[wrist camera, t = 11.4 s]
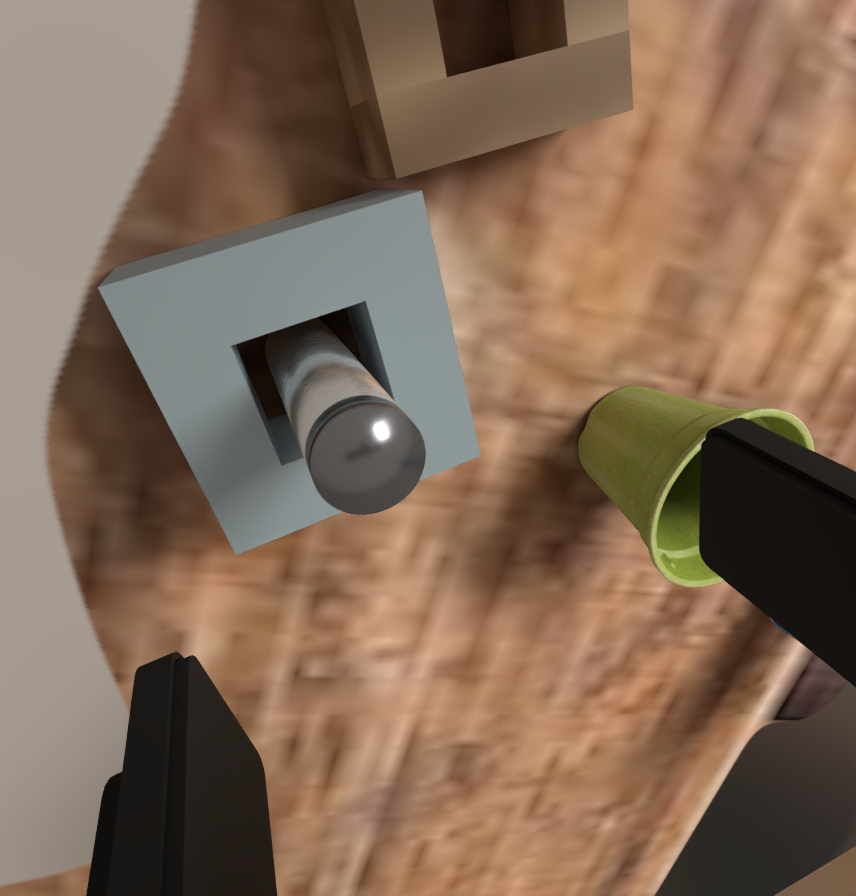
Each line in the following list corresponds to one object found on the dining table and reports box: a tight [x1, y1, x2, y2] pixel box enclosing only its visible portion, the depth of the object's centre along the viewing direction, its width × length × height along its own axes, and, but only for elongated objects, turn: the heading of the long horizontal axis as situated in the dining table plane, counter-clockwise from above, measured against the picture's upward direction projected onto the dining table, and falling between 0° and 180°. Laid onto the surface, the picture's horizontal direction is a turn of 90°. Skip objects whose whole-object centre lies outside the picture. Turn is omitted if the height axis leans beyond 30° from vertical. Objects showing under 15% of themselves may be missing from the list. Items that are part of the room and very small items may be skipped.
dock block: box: [98, 188, 481, 555], centre depth 24 cm, size 11×11×5 cm
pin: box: [265, 318, 426, 515], centre depth 21 cm, size 3×3×12 cm
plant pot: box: [578, 386, 814, 587], centre depth 31 cm, size 9×9×9 cm
